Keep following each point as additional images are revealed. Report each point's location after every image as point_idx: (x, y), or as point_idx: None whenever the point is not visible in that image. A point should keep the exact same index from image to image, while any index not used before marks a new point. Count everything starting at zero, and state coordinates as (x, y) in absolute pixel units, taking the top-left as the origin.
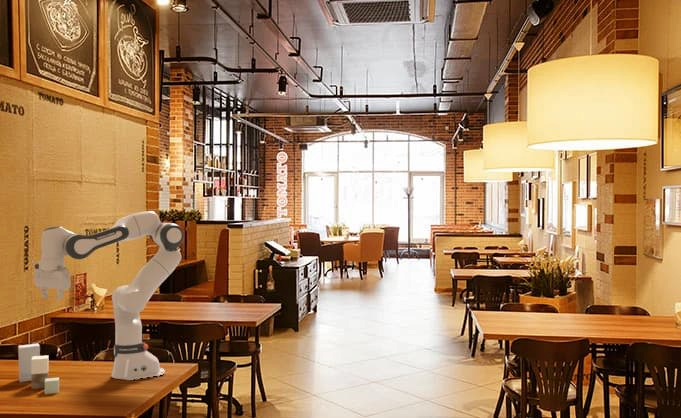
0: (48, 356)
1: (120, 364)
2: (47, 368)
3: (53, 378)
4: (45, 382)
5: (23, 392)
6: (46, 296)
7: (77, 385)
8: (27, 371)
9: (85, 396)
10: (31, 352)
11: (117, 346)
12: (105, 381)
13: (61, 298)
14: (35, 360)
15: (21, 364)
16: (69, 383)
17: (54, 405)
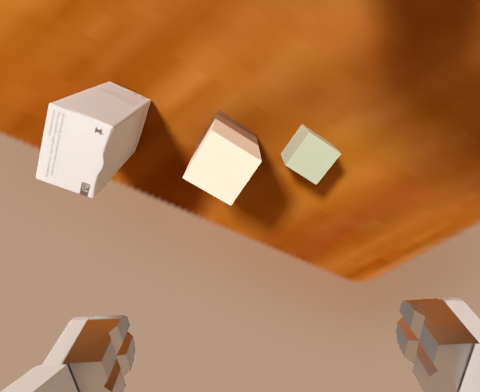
0: (214, 131)
1: None
2: (259, 150)
3: (305, 150)
4: (316, 182)
5: (247, 196)
6: (119, 347)
7: (310, 60)
8: (133, 143)
9: (431, 117)
10: (114, 151)
11: None
12: None
13: (463, 311)
14: (238, 193)
15: (118, 167)
16: (266, 63)
17: (417, 207)
